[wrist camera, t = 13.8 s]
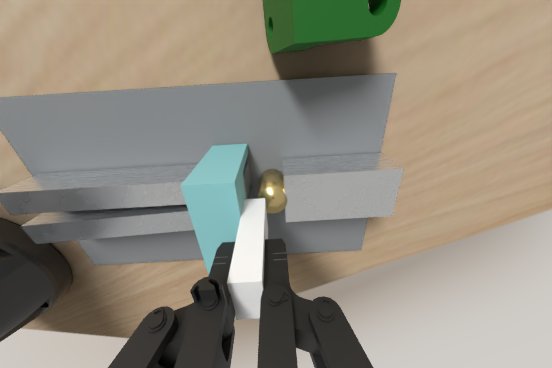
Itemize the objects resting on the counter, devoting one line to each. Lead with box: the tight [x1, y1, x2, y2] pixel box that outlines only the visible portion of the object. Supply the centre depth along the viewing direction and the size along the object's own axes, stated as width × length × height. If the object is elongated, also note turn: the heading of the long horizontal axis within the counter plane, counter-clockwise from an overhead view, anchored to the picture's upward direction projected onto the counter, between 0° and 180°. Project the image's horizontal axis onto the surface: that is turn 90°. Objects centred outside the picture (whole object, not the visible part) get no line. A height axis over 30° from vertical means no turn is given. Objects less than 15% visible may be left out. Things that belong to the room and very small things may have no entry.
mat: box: [0, 73, 396, 265], centre depth 20 cm, size 32×18×1 cm, turn 93°
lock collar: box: [181, 144, 248, 275], centre depth 16 cm, size 3×8×7 cm, turn 3°
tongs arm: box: [21, 185, 254, 244], centre depth 19 cm, size 19×2×4 cm, turn 95°
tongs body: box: [0, 153, 404, 222], centre depth 18 cm, size 31×4×4 cm, turn 93°
